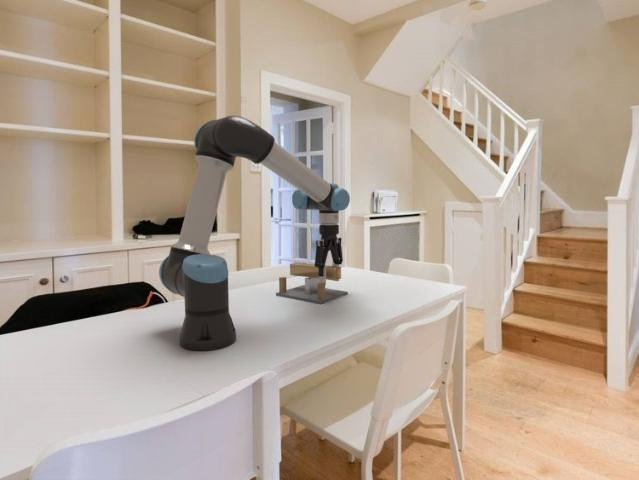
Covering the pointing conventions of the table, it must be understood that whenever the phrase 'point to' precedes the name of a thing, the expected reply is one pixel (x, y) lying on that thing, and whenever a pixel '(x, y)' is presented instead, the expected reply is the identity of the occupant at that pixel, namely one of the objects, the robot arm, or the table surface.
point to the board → (317, 297)
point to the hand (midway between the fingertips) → (329, 282)
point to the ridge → (311, 285)
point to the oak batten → (314, 271)
